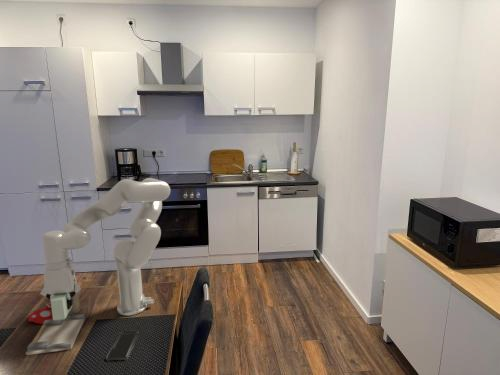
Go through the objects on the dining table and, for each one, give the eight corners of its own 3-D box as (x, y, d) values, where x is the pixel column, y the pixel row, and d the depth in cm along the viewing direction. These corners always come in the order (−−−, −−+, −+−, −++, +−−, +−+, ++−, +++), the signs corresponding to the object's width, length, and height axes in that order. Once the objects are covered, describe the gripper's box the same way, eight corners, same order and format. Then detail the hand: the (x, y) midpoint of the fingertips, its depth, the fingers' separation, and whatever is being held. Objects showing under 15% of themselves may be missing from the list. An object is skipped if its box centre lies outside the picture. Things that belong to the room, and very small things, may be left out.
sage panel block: (73, 304, 134) (70, 286, 133) (64, 319, 125) (62, 299, 123) (62, 305, 133) (59, 287, 132) (53, 320, 124) (50, 300, 122)
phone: (139, 331, 132) (127, 358, 117) (139, 334, 132) (127, 361, 117) (119, 332, 132) (104, 359, 117) (119, 334, 132) (104, 362, 117)
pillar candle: (81, 303, 153) (77, 273, 150) (79, 315, 144) (74, 283, 141) (57, 308, 150) (52, 277, 147) (53, 320, 141) (48, 287, 138)
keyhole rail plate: (85, 319, 141) (84, 314, 141) (71, 349, 123) (70, 343, 123) (46, 323, 138) (45, 318, 138) (26, 355, 120) (25, 349, 120)
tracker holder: (57, 319, 140) (28, 321, 135) (55, 327, 141) (27, 330, 136) (57, 299, 150) (30, 301, 144) (55, 307, 151) (29, 309, 145)
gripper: (84, 257, 130) (89, 300, 134) (37, 261, 127) (43, 305, 131) (79, 266, 123) (83, 311, 127) (28, 270, 120) (35, 316, 124)
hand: (63, 307), depth 129 cm, fingers closed on sage panel block, 4 cm apart
